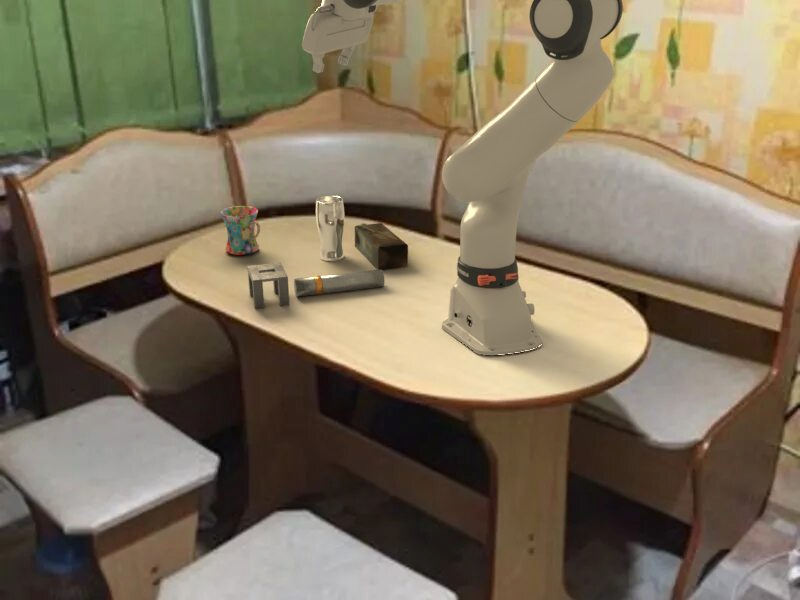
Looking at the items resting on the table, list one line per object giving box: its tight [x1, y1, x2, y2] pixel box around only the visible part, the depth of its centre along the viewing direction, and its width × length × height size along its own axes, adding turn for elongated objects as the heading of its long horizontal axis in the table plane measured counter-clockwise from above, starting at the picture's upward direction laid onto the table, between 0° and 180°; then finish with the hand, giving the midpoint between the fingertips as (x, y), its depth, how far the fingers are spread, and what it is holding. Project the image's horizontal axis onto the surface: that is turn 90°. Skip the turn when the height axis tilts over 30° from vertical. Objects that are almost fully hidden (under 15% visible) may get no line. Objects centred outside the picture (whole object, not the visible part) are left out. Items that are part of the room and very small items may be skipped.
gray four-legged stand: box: [247, 262, 290, 310], centre depth 195 cm, size 9×8×7 cm
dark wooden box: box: [354, 222, 409, 271], centre depth 220 cm, size 8×19×7 cm, turn 20°
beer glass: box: [315, 195, 345, 262], centre depth 218 cm, size 7×7×15 cm
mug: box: [219, 205, 261, 256], centre depth 222 cm, size 12×9×11 cm
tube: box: [293, 269, 385, 298], centre depth 200 cm, size 20×4×4 cm, turn 106°
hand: (330, 67), depth 185 cm, fingers open, 8 cm apart
